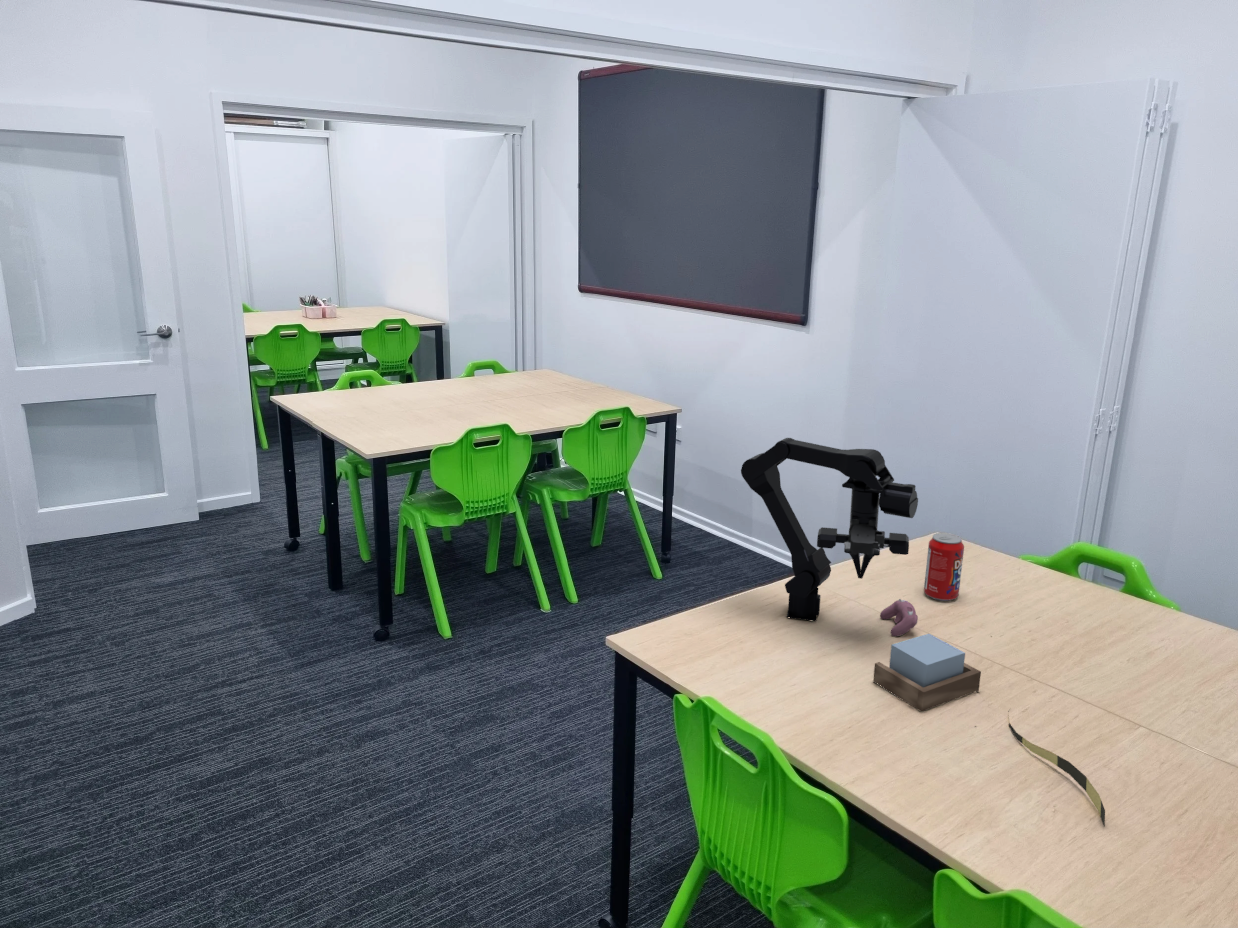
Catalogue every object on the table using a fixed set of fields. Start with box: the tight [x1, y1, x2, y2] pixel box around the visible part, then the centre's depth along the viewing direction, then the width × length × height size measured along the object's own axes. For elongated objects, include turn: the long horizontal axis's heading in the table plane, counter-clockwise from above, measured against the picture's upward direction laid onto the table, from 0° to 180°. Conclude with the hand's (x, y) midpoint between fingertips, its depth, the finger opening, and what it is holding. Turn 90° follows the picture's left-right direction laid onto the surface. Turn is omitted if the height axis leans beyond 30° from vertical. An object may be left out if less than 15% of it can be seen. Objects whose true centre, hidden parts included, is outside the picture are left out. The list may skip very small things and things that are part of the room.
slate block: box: [888, 633, 966, 688], centre depth 171 cm, size 9×10×8 cm
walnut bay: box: [872, 661, 982, 712], centre depth 171 cm, size 12×15×4 cm
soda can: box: [923, 532, 965, 602], centre depth 209 cm, size 8×8×15 cm
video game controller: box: [879, 598, 919, 637], centre depth 195 cm, size 10×5×7 cm, turn 179°
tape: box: [1007, 707, 1106, 827], centre depth 150 cm, size 6×38×4 cm, turn 175°
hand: (860, 577), depth 191 cm, fingers closed
